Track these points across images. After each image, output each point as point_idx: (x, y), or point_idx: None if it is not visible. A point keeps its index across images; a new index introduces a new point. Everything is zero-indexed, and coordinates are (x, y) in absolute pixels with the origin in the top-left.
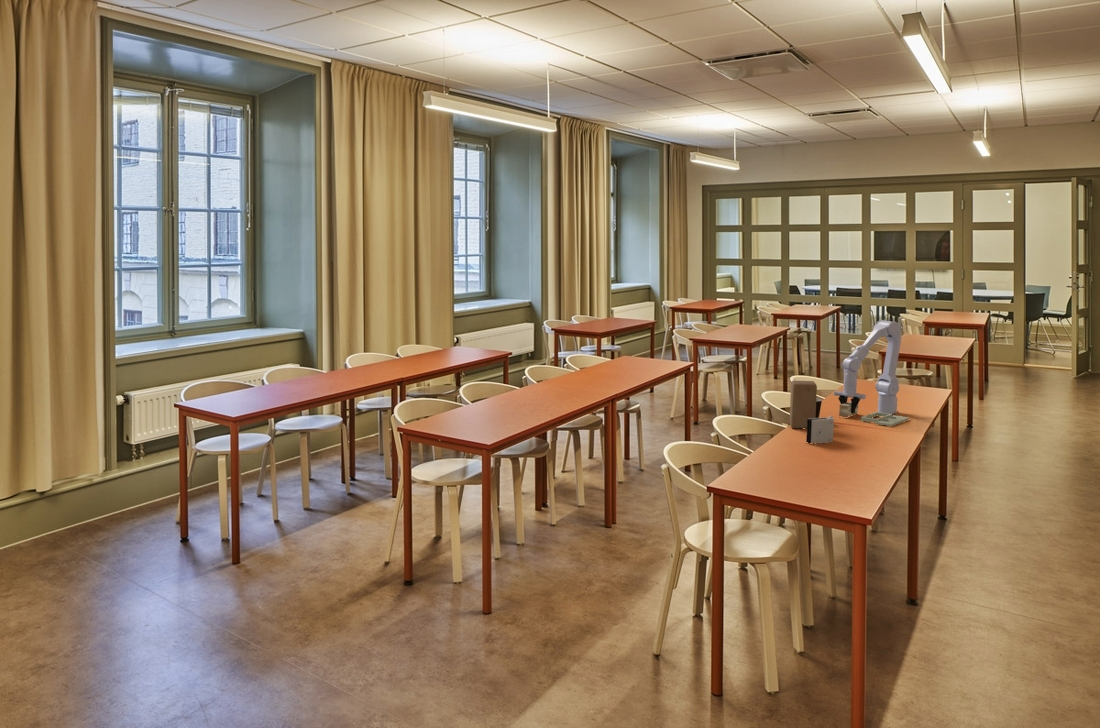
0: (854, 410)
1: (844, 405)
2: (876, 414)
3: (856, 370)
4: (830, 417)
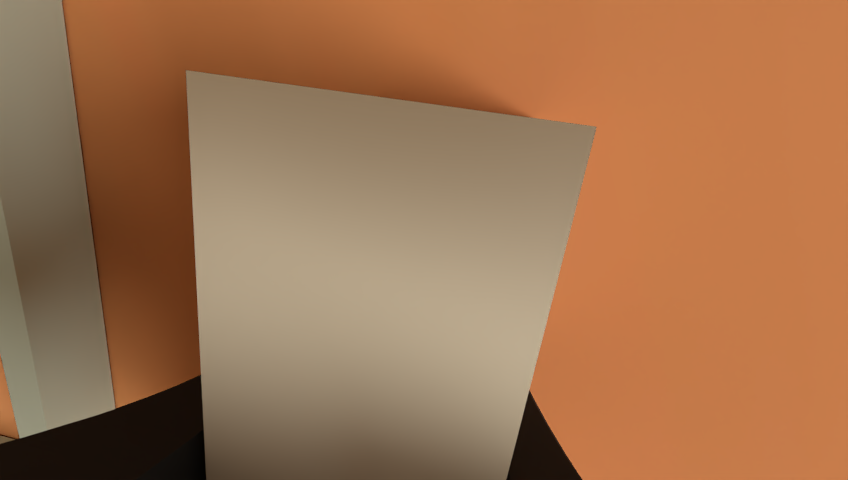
0: None
1: (317, 98)
2: None
3: None
4: None
